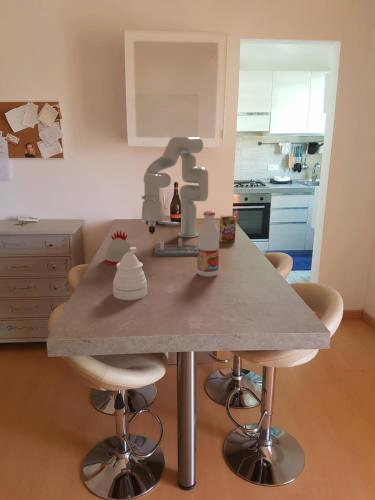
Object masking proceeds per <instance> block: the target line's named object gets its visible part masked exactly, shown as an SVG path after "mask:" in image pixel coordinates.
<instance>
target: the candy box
mask: <svg viewBox="0 0 375 500" xmlns="http://www.w3.org/2000/svg"><path fill="white" fill-rule="evenodd" d="M219 219H220V220H219V237H218V241H219V243H223V242H224V243H228V242H230V243H231V242H233V243H234V242H235V243H236V231H237V230H236V228H237V216H236V215H220V218H219Z"/></svg>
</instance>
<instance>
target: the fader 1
mask: <svg viewBox="0 0 375 500" xmlns="http://www.w3.org/2000/svg"><path fill="white" fill-rule="evenodd" d="M159 243H160V250H164V245H165V241H164V240H163V239H161V240H160V242H159Z"/></svg>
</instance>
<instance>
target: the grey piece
mask: <svg viewBox="0 0 375 500" xmlns="http://www.w3.org/2000/svg"><path fill="white" fill-rule="evenodd" d="M125 233H126V232H125V231H123V232H122V231H121V230H120V231H118V230H117V231H116V233H115V232H114V233H113V235H114V236H113V235H110V237H111V239H112V241H110V243H109V245H108V246H107V249H106V252H105V263H106V264H109V265H111V264H112V265H113V266H116V265H117V264H118V263H119V262H120V261H121V259H122V258H123V256H124V255H125V254H126V253H127V252H131V251H130V247H132V246H131V244H130V243H129V242H128V241H127V237H128V233H127V234H125Z"/></svg>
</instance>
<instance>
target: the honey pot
mask: <svg viewBox="0 0 375 500" xmlns="http://www.w3.org/2000/svg"><path fill="white" fill-rule="evenodd" d="M130 251H131V252H127V253H126V254H125V255H124V256H123V258H122V259H121V261H120V262H119V263H118V264H117V265H115V267H116V268H117V270H116V271H115V276H114V279H113V281H112V285H113V289H112V290H113V296H114V298H116V299H118V300H124V301H135V300H139V299H142V298H144V297H146V296H147V294H148V284H147V283H148V281H147V278H146V276H145V272H144V270H143V263H142V262H141V261H139V260H138V258H137V256H136V255H135V253H136V251H137V247H136V246H131V247H130Z"/></svg>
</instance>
